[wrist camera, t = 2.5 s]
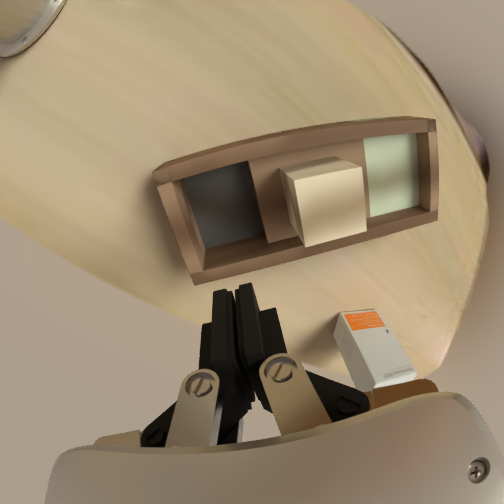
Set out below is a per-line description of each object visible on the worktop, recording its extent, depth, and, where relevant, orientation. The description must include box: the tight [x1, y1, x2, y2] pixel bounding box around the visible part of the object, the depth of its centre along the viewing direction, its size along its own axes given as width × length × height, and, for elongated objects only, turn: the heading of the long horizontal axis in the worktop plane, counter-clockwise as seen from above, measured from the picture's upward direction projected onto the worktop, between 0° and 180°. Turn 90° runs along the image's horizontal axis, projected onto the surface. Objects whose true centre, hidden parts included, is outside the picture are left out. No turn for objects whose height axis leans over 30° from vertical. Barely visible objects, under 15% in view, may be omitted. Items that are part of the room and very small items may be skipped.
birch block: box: [279, 156, 367, 247], centre depth 20 cm, size 5×5×5 cm
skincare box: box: [333, 309, 417, 392], centre depth 29 cm, size 6×4×12 cm
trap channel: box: [152, 116, 439, 286], centre depth 23 cm, size 10×25×4 cm, turn 103°
